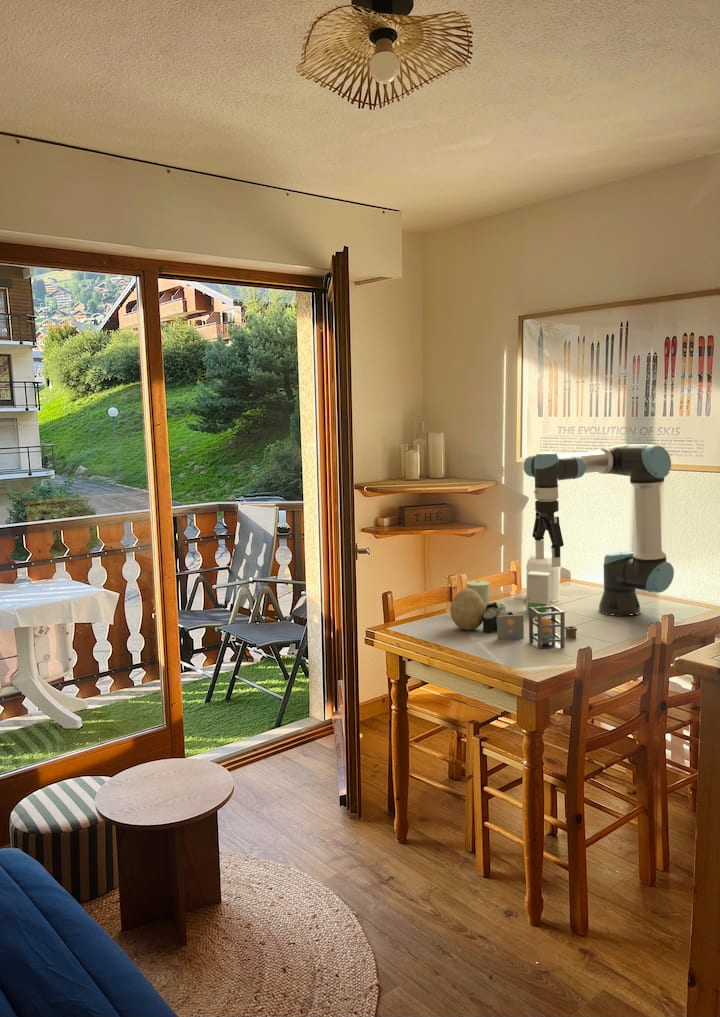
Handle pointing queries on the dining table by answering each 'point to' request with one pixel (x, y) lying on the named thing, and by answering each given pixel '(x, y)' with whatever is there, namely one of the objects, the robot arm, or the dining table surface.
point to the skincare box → (538, 590)
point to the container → (546, 566)
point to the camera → (493, 616)
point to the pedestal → (571, 632)
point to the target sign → (510, 627)
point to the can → (481, 589)
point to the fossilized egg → (467, 609)
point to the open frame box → (561, 624)
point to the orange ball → (546, 622)
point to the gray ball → (547, 636)
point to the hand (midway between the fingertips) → (547, 563)
